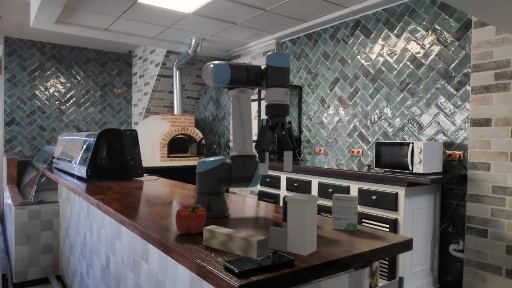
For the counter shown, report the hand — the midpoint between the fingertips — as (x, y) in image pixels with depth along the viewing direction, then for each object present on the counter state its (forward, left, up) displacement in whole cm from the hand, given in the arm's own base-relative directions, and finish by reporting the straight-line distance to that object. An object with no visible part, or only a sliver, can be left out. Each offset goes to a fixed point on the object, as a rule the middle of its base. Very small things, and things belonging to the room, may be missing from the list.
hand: (276, 172), depth 111 cm
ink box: (+10, +28, -21) cm, 37 cm away
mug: (-8, +25, -21) cm, 34 cm away
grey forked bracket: (+9, -4, -21) cm, 23 cm away
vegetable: (-25, -12, -21) cm, 35 cm away
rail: (-3, -16, -21) cm, 26 cm away
